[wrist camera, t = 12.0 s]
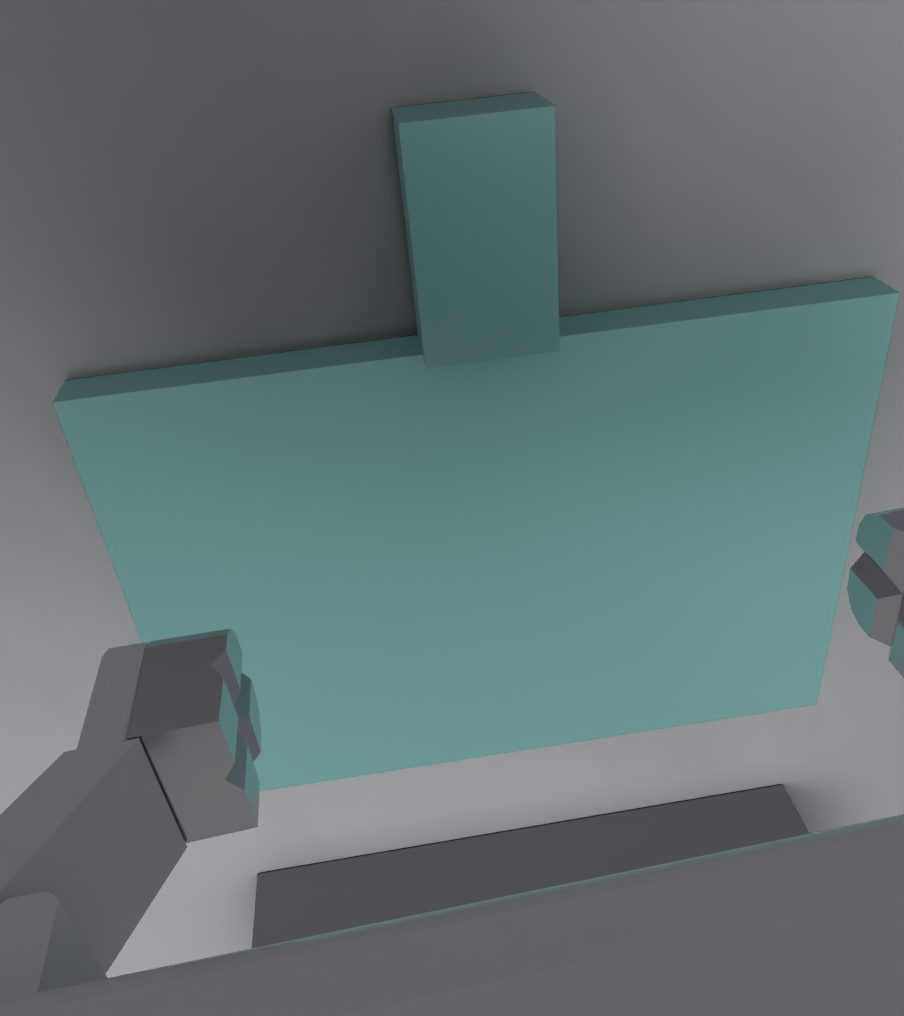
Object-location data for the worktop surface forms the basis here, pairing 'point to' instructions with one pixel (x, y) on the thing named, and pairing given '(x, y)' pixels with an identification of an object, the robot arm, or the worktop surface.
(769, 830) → the tub
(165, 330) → the worktop surface
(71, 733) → the worktop surface
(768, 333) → the lid
